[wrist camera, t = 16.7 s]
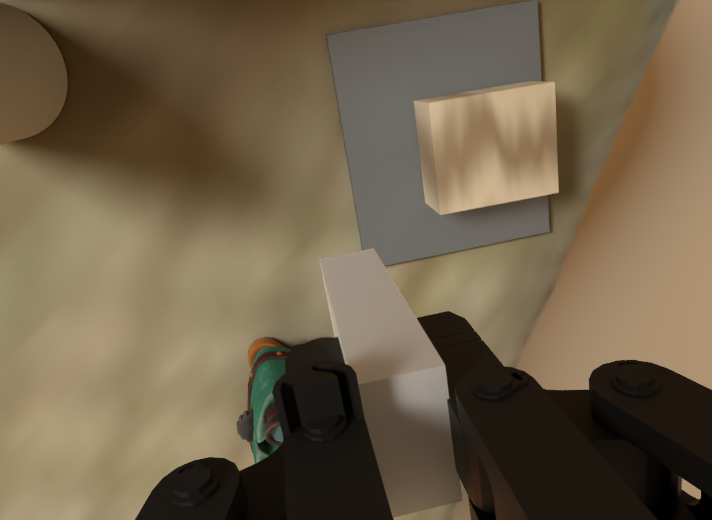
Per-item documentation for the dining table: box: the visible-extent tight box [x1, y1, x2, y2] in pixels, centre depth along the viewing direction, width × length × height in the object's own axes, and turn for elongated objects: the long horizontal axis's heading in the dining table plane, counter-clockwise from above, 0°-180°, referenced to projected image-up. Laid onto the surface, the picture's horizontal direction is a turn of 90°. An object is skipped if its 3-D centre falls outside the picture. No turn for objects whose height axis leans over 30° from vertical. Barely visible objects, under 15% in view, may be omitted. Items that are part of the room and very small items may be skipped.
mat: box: [326, 0, 550, 266], centre depth 39 cm, size 16×14×1 cm
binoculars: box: [237, 338, 328, 464], centre depth 39 cm, size 9×11×10 cm
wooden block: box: [413, 81, 559, 215], centre depth 37 cm, size 7×4×8 cm
